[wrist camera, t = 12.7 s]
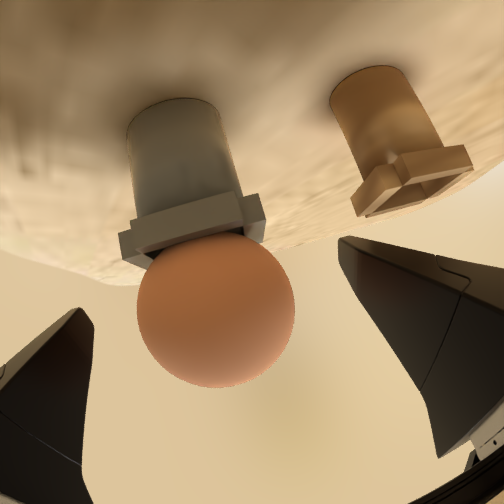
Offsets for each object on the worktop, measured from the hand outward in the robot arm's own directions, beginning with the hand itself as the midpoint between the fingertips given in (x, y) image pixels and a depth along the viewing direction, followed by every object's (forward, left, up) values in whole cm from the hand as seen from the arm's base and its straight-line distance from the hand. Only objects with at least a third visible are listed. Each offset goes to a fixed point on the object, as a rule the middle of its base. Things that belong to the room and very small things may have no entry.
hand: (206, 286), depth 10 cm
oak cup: (+8, +5, -7) cm, 12 cm away
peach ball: (+1, -2, +1) cm, 2 cm away
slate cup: (+1, -2, -7) cm, 8 cm away
